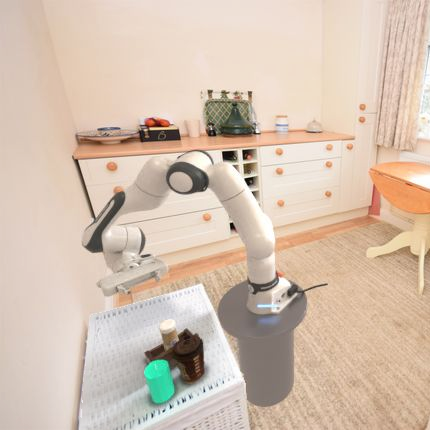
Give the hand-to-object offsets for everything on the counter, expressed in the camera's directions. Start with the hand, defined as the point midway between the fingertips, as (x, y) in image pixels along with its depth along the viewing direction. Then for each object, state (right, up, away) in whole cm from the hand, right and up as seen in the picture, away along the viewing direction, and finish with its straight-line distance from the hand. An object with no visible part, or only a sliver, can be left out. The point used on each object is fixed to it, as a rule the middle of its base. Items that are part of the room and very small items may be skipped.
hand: (144, 286), depth 96 cm
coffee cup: (+19, -26, -6) cm, 33 cm away
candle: (+13, -29, -12) cm, 33 cm away
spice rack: (+10, -23, 0) cm, 25 cm away
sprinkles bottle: (+10, -23, 0) cm, 25 cm away
